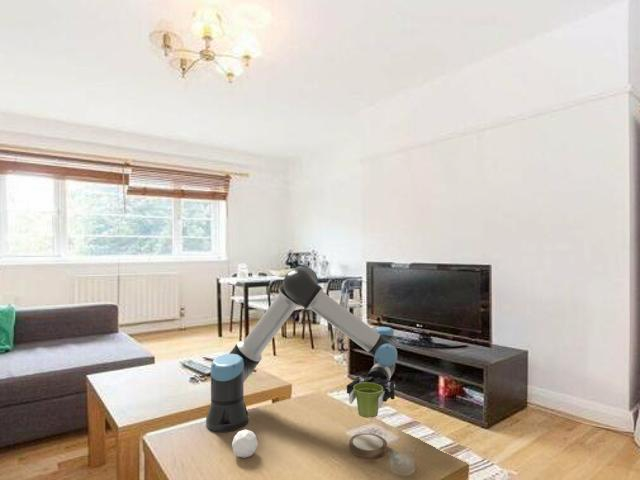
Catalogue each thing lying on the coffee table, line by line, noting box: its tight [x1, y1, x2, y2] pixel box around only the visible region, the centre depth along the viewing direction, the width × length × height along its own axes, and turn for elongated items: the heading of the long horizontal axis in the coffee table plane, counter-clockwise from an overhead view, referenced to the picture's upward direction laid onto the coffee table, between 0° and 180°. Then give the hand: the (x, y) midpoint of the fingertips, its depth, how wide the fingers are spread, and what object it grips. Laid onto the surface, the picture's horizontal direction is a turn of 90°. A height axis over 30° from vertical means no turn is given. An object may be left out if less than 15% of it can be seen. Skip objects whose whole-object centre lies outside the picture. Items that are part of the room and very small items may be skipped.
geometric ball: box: [231, 429, 259, 459], centre depth 126 cm, size 8×8×8 cm
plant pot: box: [353, 382, 383, 419], centre depth 130 cm, size 9×9×9 cm
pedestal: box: [348, 432, 388, 460], centre depth 130 cm, size 12×12×2 cm
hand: (364, 401), depth 126 cm, fingers closed on plant pot, 8 cm apart
